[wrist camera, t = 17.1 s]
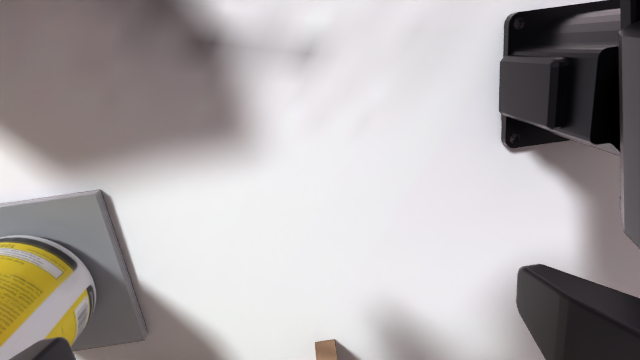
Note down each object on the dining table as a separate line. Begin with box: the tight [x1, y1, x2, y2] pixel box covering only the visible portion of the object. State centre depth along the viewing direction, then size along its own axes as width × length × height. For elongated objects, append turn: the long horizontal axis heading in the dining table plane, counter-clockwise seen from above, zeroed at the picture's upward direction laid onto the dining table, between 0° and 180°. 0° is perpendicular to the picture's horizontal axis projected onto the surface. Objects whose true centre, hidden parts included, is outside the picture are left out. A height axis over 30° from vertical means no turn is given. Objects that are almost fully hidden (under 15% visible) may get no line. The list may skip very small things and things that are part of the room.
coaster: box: [0, 190, 148, 351], centre depth 21 cm, size 9×9×1 cm
